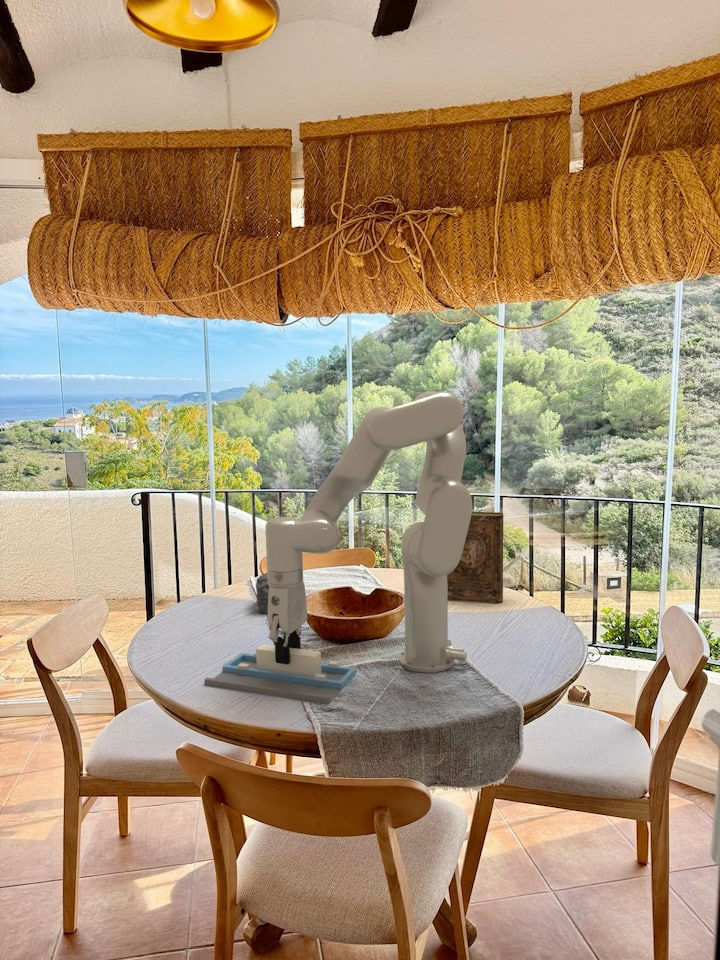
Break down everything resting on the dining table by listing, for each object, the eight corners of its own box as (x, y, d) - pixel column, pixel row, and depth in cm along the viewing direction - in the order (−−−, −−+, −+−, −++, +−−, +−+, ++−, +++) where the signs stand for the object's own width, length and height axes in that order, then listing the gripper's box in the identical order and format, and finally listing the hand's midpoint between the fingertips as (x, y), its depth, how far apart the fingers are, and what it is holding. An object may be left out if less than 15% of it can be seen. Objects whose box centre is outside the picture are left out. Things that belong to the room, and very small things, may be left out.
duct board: (356, 676, 150) (356, 664, 150) (328, 708, 136) (328, 694, 136) (242, 660, 160) (241, 649, 160) (204, 688, 146) (204, 675, 145)
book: (503, 598, 201) (504, 512, 198) (501, 604, 196) (502, 516, 193) (446, 594, 206) (446, 510, 202) (443, 600, 201) (443, 514, 197)
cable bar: (321, 674, 150) (320, 651, 149) (315, 679, 147) (314, 657, 146) (263, 665, 155) (262, 644, 154) (256, 671, 152) (255, 649, 151)
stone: (284, 614, 192) (283, 578, 191) (256, 615, 191) (254, 580, 190) (284, 600, 204) (283, 566, 203) (257, 601, 204) (256, 567, 202)
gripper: (283, 588, 139) (286, 676, 141) (318, 567, 154) (320, 646, 157) (249, 585, 141) (253, 671, 144) (287, 564, 157) (290, 642, 160)
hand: (288, 657), depth 150 cm, fingers open, 4 cm apart
